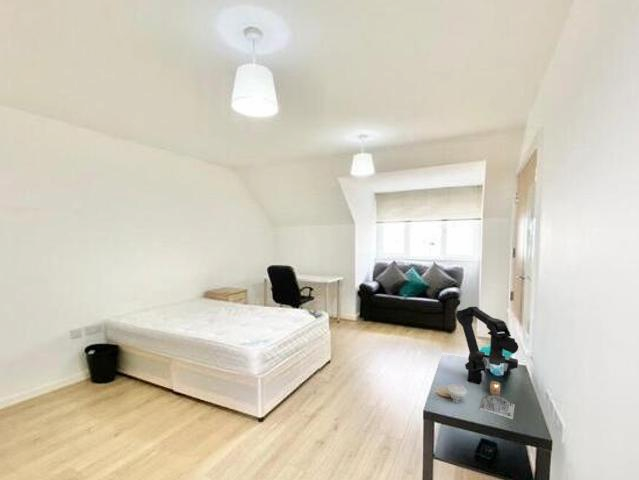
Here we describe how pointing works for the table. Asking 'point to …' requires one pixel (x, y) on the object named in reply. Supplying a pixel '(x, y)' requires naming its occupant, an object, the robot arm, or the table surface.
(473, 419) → the table surface
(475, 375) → the robot arm
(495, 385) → the pipe stub
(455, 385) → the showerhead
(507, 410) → the clear glass tray
